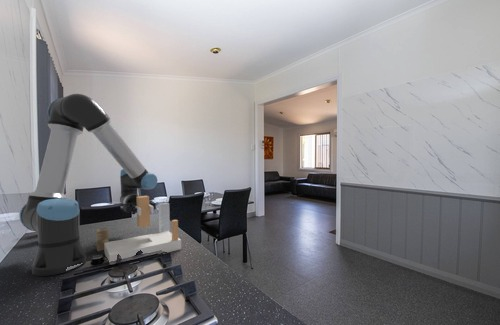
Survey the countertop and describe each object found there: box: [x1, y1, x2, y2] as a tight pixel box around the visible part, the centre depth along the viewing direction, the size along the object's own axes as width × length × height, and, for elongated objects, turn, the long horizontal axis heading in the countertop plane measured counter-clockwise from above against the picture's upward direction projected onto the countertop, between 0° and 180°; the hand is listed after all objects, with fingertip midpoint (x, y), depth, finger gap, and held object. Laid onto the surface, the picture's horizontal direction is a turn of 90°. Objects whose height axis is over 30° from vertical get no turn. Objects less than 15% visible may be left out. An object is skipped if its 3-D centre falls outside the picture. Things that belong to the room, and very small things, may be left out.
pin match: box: [136, 195, 151, 228], centre depth 101 cm, size 4×4×12 cm
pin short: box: [95, 227, 110, 252], centre depth 104 cm, size 4×4×8 cm
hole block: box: [103, 219, 182, 261], centre depth 101 cm, size 26×16×12 cm, turn 127°
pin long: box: [158, 202, 171, 233], centre depth 120 cm, size 4×4×16 cm
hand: (146, 210), depth 96 cm, fingers closed on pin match, 4 cm apart
